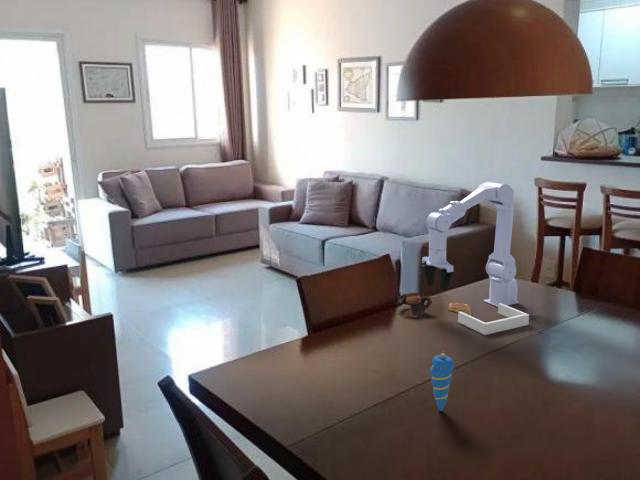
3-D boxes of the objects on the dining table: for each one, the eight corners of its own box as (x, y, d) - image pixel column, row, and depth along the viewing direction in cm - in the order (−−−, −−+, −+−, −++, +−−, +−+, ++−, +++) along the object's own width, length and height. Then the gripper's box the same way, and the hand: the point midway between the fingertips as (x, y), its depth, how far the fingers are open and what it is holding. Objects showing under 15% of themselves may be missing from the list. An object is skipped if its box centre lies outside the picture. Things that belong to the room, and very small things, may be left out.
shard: (471, 318, 192) (472, 313, 192) (448, 318, 194) (448, 313, 193) (468, 307, 203) (468, 303, 202) (446, 307, 204) (446, 302, 204)
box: (500, 312, 196) (500, 303, 195) (528, 324, 184) (529, 314, 184) (458, 321, 188) (458, 311, 188) (484, 335, 177) (485, 324, 176)
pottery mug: (398, 318, 194) (393, 295, 197) (402, 321, 203) (397, 299, 205) (433, 311, 192) (428, 287, 194) (435, 314, 200) (430, 292, 203)
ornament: (436, 403, 137) (437, 344, 133) (456, 409, 133) (458, 350, 130) (425, 412, 133) (426, 352, 129) (446, 419, 129) (447, 357, 126)
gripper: (415, 245, 194) (414, 284, 197) (441, 254, 182) (440, 295, 184) (431, 243, 197) (431, 281, 200) (458, 251, 184) (457, 291, 187)
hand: (436, 287), depth 193 cm, fingers open, 7 cm apart
